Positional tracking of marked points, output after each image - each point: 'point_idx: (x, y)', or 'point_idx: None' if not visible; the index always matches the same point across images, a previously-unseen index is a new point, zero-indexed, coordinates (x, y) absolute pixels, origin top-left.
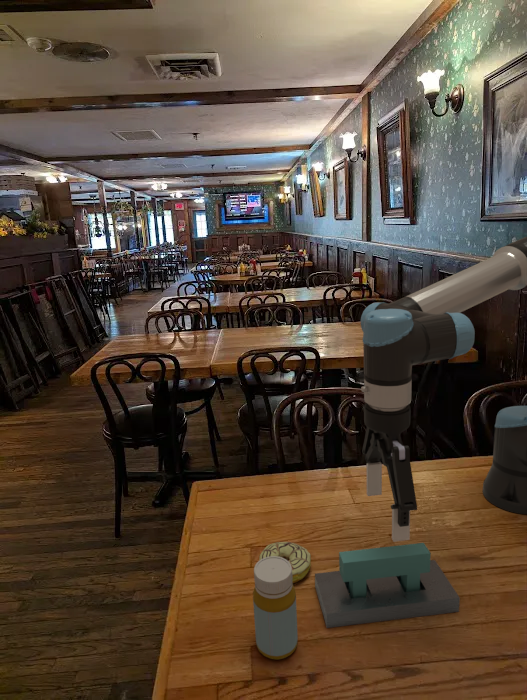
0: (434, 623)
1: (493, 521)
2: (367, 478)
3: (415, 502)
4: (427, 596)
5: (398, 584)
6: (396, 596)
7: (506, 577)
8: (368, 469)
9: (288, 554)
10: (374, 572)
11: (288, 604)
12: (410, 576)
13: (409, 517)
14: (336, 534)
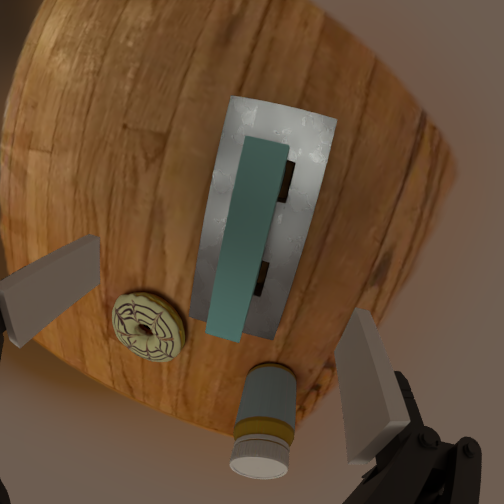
0: (337, 177)
1: None
2: (56, 315)
3: (478, 468)
4: (311, 170)
5: None
6: (288, 224)
7: (293, 10)
8: (31, 334)
9: (138, 323)
10: (258, 271)
11: (292, 433)
12: (279, 190)
13: (392, 372)
14: (100, 215)
